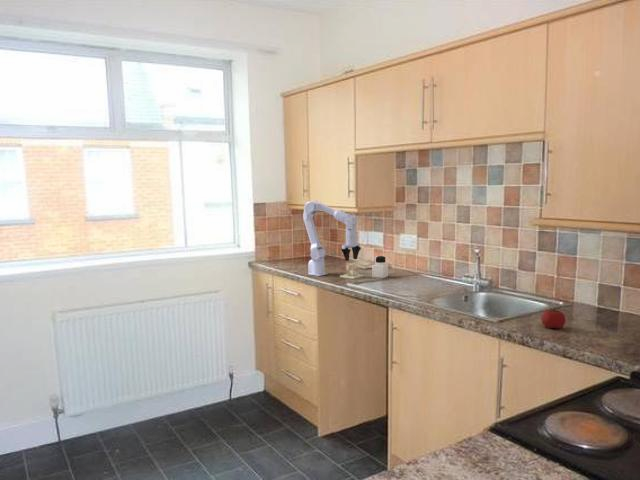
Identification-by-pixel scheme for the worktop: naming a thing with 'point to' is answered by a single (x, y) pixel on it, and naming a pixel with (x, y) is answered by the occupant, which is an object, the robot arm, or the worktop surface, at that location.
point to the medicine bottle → (380, 267)
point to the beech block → (352, 270)
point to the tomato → (553, 319)
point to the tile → (351, 276)
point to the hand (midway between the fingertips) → (351, 259)
